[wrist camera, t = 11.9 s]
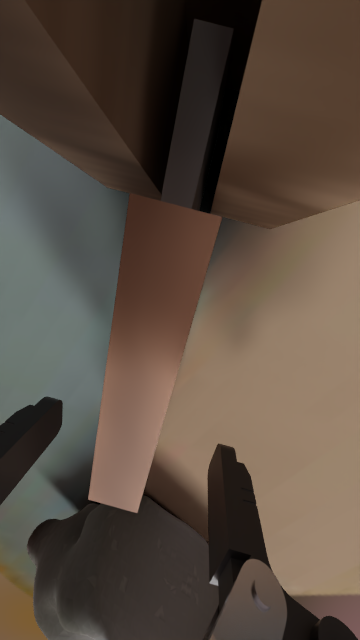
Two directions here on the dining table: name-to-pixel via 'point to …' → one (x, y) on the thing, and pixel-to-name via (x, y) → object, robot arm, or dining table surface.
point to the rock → (121, 576)
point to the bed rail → (160, 281)
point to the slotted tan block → (165, 87)
